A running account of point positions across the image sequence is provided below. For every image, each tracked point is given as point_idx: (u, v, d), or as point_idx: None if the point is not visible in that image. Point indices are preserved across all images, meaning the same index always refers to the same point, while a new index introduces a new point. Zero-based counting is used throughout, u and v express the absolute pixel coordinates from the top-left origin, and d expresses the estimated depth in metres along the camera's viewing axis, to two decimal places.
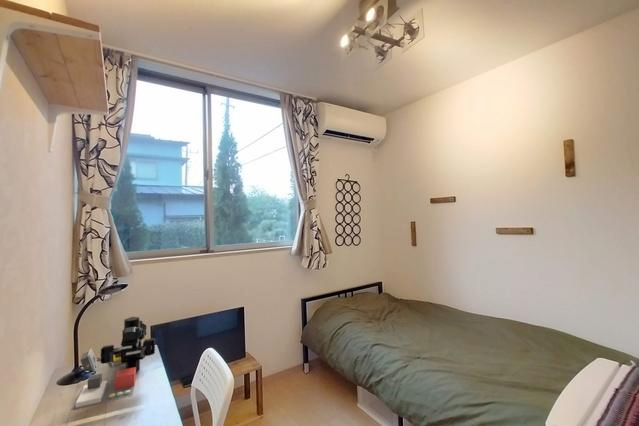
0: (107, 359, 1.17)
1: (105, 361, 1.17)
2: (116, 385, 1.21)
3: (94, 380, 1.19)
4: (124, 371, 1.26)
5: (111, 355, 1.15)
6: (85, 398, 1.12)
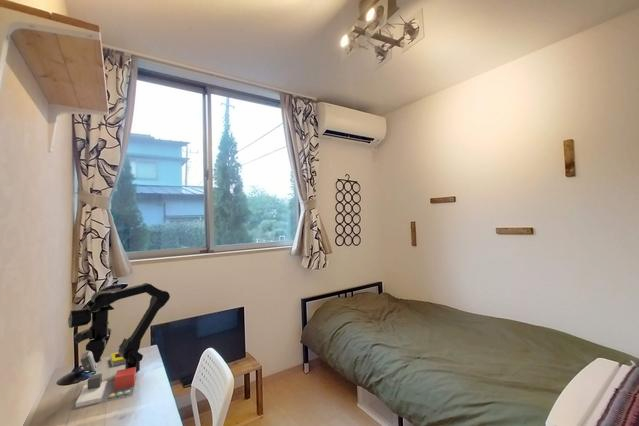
0: None
1: None
2: (116, 385, 1.21)
3: (94, 380, 1.19)
4: (124, 371, 1.26)
5: None
6: (85, 398, 1.12)
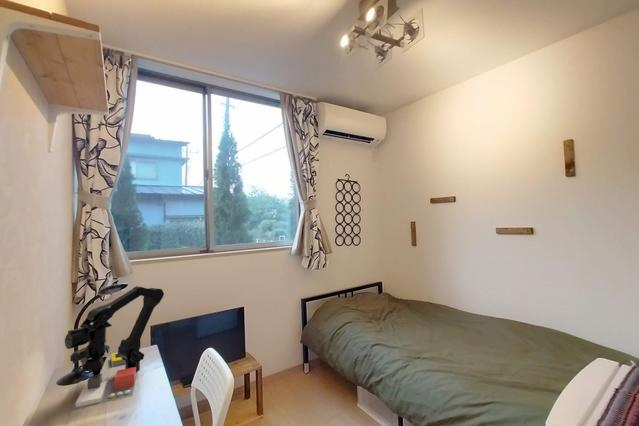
0: None
1: None
2: (116, 385, 1.21)
3: (94, 380, 1.19)
4: (124, 371, 1.26)
5: None
6: (85, 398, 1.12)
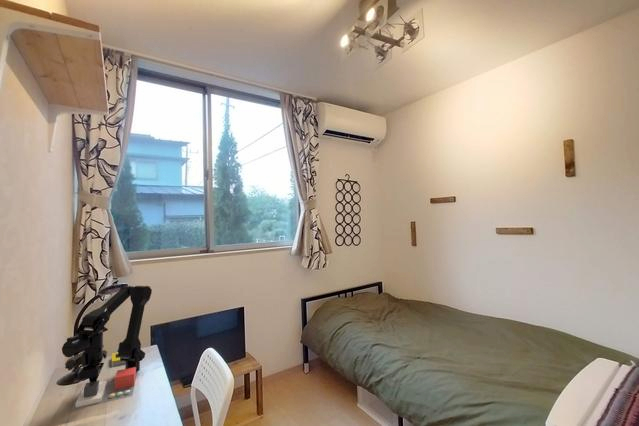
0: None
1: None
2: (116, 385, 1.21)
3: (90, 388, 1.13)
4: (124, 371, 1.26)
5: None
6: (85, 398, 1.12)
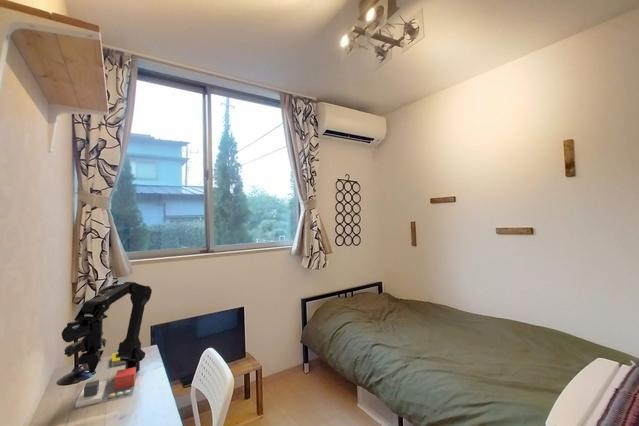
0: None
1: None
2: (116, 385, 1.21)
3: (91, 387, 1.13)
4: (124, 371, 1.26)
5: None
6: (85, 398, 1.12)
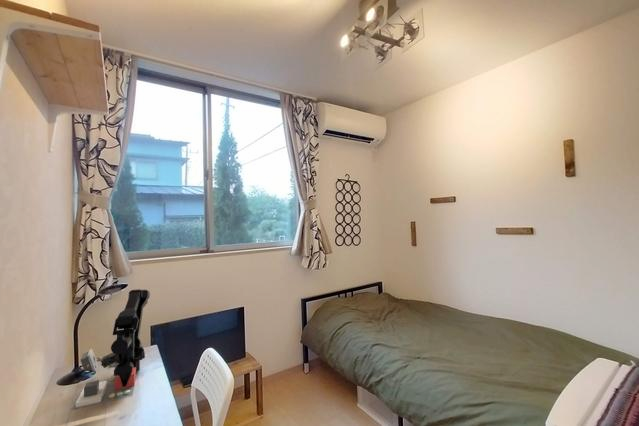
0: None
1: None
2: (116, 385, 1.21)
3: (91, 387, 1.13)
4: None
5: None
6: (85, 398, 1.12)
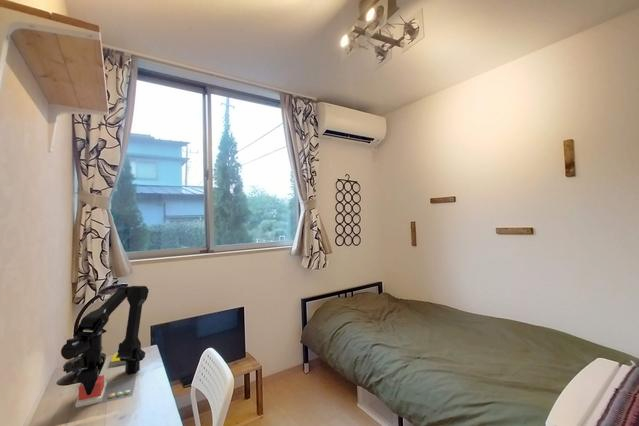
0: None
1: None
2: (80, 395, 1.11)
3: None
4: None
5: None
6: None
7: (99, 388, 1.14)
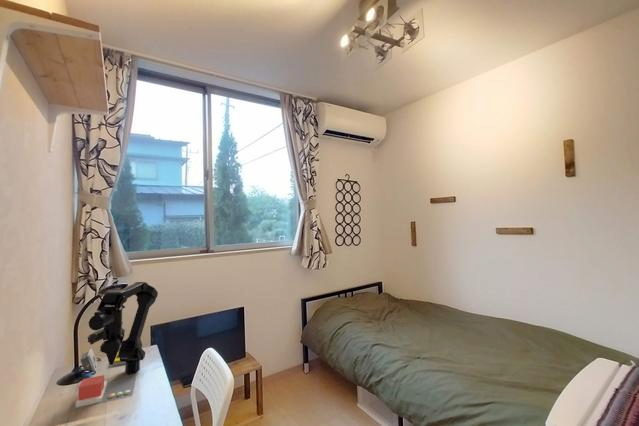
0: None
1: None
2: (80, 395, 1.11)
3: None
4: (90, 380, 1.16)
5: None
6: None
7: (99, 388, 1.14)
